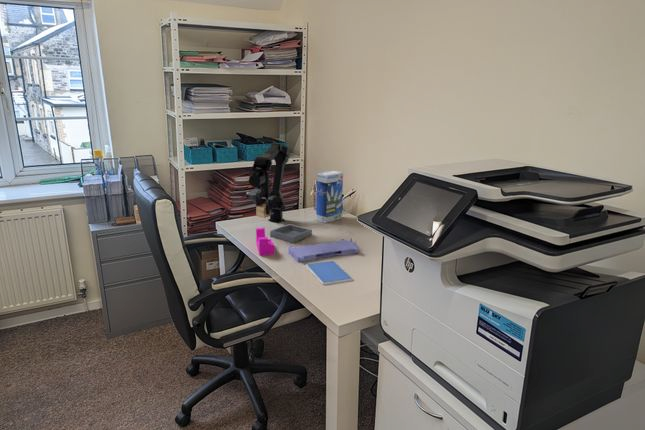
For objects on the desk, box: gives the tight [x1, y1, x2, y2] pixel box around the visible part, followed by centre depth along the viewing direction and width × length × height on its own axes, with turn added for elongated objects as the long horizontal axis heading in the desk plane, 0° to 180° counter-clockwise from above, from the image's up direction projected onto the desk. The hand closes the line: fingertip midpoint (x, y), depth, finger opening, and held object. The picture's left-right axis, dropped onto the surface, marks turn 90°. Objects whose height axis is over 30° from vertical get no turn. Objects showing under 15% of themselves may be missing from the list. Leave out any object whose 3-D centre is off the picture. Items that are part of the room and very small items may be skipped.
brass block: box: [255, 203, 271, 219], centre depth 211 cm, size 5×5×5 cm
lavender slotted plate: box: [288, 238, 360, 263], centre depth 188 cm, size 30×4×15 cm
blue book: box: [305, 260, 354, 286], centre depth 168 cm, size 19×13×1 cm, turn 22°
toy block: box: [255, 227, 275, 257], centre depth 190 cm, size 15×6×8 cm, turn 14°
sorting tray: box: [270, 223, 313, 244], centre depth 207 cm, size 14×14×3 cm
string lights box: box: [315, 170, 344, 224], centre depth 231 cm, size 13×8×26 cm, turn 136°
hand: (263, 213), depth 212 cm, fingers closed on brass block, 5 cm apart
